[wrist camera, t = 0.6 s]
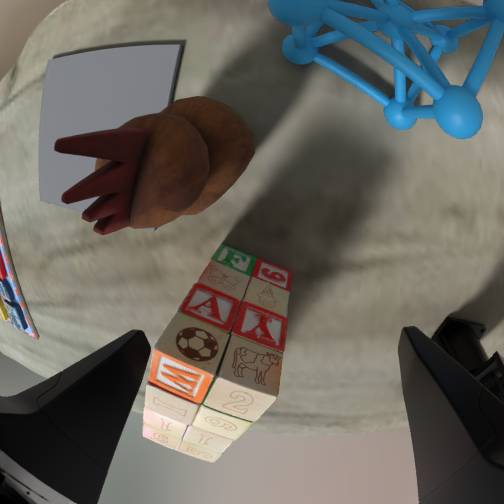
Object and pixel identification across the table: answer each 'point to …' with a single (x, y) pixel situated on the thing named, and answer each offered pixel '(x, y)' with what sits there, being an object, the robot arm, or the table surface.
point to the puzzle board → (12, 292)
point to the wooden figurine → (160, 164)
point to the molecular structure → (400, 53)
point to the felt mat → (97, 106)
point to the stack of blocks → (219, 356)
